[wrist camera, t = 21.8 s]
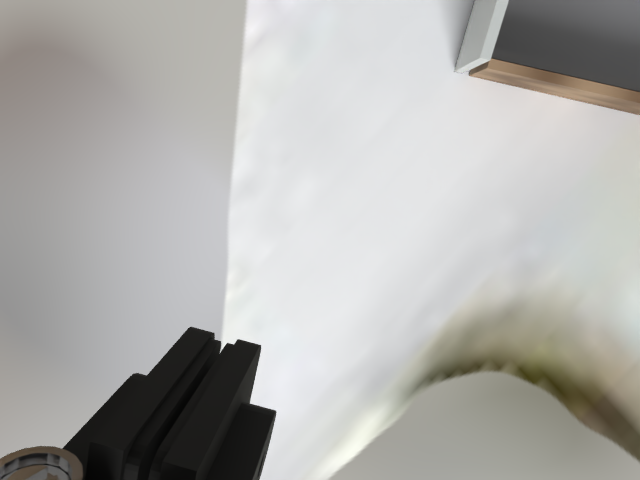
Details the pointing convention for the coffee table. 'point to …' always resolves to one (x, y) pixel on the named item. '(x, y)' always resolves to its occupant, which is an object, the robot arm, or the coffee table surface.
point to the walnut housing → (559, 85)
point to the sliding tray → (558, 38)
